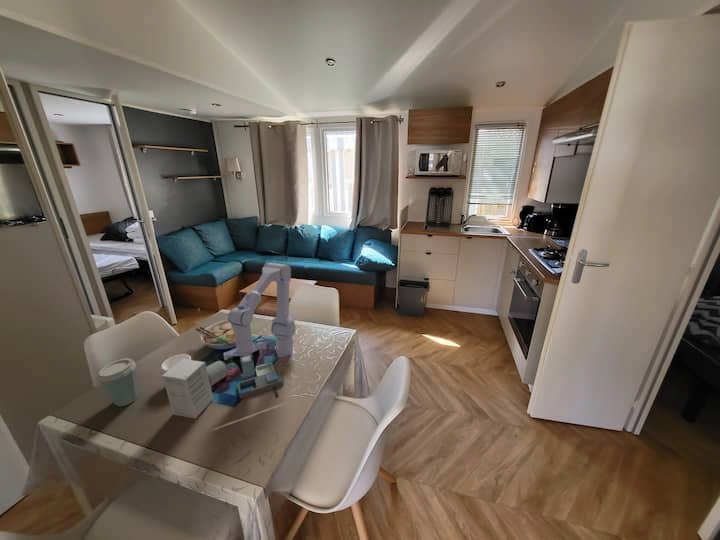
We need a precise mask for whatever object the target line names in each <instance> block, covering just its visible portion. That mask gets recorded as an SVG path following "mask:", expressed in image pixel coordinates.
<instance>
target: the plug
mask: <svg viewBox="0 0 720 540" xmlns="http://www.w3.org/2000/svg"><path fill="white" fill-rule="evenodd" d="M240 360H241V365H242V369H243V373H242V374H243V378H247V377H250V376H251V377H252V376H254V375H256V370H255V369H254V363H253V357H252V354H250V355H249V356H246V357H244V356H242V357H240Z"/></svg>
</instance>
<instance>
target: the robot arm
mask: <svg viewBox="0 0 720 540" xmlns="http://www.w3.org/2000/svg"><path fill="white" fill-rule="evenodd" d="M291 270H292V268H291V266H289V264H282V263H275V262H270V261H267V262H266V263H265V264H264V265H263V267H262V269H261V275H260V277H259V279H258V281H257V283H256V284H255V286H254V287H253V289H252V290H250V291H248V292H246V294H245V295H244V297H243V298H242V300H240V302H239V304H238V305H237V306H236V307H233V308H232V309H231V310H230V311H229V312H228V317H227V320H228V322H229V323H231V326H232V328H233V330H234V336H235V342H236V346H235V348H233V349H232V348H231V350H228V351H225V352H223V358H224V361H227V360H228V359H231V358H232V362H233V363H234V364H235V365H236V366H237V368H238V369H239V371H240V373H242V374H243V369H242V364H241V357H246V356H250V355H252V358H253V363H254V370H255V369H256V366H257V363H258V360H259V358H260V356H261V352H260V351H261V350H264V351H265V350H267V344H266V342H260V343H259V342H258V343H254V341H253V333H252V330H251V325H252V322H253V318H254V315H255V310H256V309H257V307H258V306H259V304H260V303H261V301H262V294H263V293H264V292H265V291H266V289H267V288H268V287H269V286H270V285H271V284H272V282H275V283H276V316H275V317H274V318H273V319H272V320H271V326H270V332H271V334H272V335H273V336H274V338H275V343H276V344H275V345H276V346H274V349H275V353H276V355H277V358H279V359H280V358H283V357H287V356H291V355H293V354H296V353H297V352H296V350H295V347H294V343H293V336H294V335H295V333H296V331H297V329H296V324H295V319H294V318H293V317H292V316H290V282H291V278H292V274H291V273H292V271H291ZM250 323H251V325H250Z"/></svg>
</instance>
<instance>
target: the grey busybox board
mask: <svg viewBox="0 0 720 540" xmlns="http://www.w3.org/2000/svg"><path fill="white" fill-rule="evenodd" d="M252 384H255V387H256V388H253V389H249V390H246V391H243V392H242V391H241V388H242V387H244V386H245V387H246V386H248V385H252ZM283 385H284V380H283V377H282V374H281V372H280V370H279V369H278V370H275V371H274V372H271V373H267V374H264V375H261V376H258V377H257V376H254V377H252V378H249V379H246V380H242V381H238V382H237V390H238V396H239V400H242V399H244V398H247V397H250V396H254V395H257V394H259V393H262V392H266V391H269V390H271V389H273V392H274V396H275V398H276V399H277V398H279V394H278V389H277V388H278V387H280V386H283Z"/></svg>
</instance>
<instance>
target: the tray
mask: <svg viewBox="0 0 720 540" xmlns="http://www.w3.org/2000/svg"><path fill="white" fill-rule="evenodd" d="M254 370H255V375H256V377H258V376H261V375H264V374H267V373H271V372H274V371H276V369H275V367H274V365H273V361H271V362H268V363H264V364H263V363H262V364H260V365H256V369H254Z"/></svg>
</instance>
